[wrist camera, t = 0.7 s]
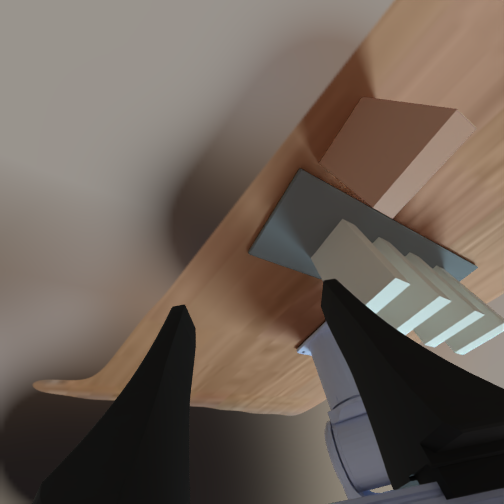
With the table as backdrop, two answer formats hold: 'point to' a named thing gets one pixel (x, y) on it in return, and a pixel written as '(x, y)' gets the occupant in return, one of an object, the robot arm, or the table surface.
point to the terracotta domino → (394, 149)
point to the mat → (324, 222)
